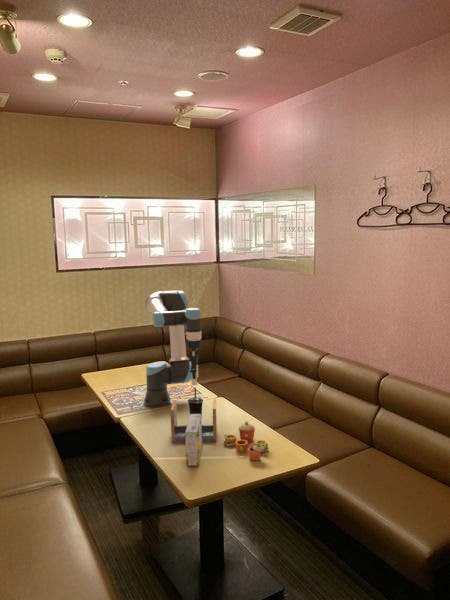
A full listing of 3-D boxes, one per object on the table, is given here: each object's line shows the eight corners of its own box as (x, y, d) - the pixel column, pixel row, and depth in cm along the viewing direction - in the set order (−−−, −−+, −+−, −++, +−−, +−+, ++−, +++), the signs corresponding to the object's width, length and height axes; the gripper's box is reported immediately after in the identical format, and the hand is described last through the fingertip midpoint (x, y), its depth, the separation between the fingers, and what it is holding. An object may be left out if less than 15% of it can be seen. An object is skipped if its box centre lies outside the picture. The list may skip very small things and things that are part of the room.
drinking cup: (185, 426, 244) (184, 388, 241) (196, 422, 249) (195, 384, 247) (195, 430, 239) (194, 391, 236) (206, 425, 244) (205, 387, 242)
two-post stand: (174, 431, 238) (173, 400, 236) (216, 430, 238) (216, 399, 236) (171, 442, 224) (170, 409, 222) (216, 441, 224) (215, 408, 222)
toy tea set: (219, 443, 224) (218, 423, 223) (246, 435, 232) (246, 416, 231) (251, 464, 202) (251, 442, 201) (280, 454, 210) (280, 433, 209)
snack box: (190, 444, 222) (190, 413, 220) (203, 444, 222) (202, 413, 220) (185, 466, 201) (184, 431, 199) (199, 466, 201) (198, 431, 199)
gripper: (188, 334, 251) (189, 374, 253) (184, 344, 226) (185, 388, 228) (202, 334, 251) (203, 374, 253) (200, 344, 226) (201, 388, 228)
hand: (195, 381), depth 241 cm, fingers open, 13 cm apart
